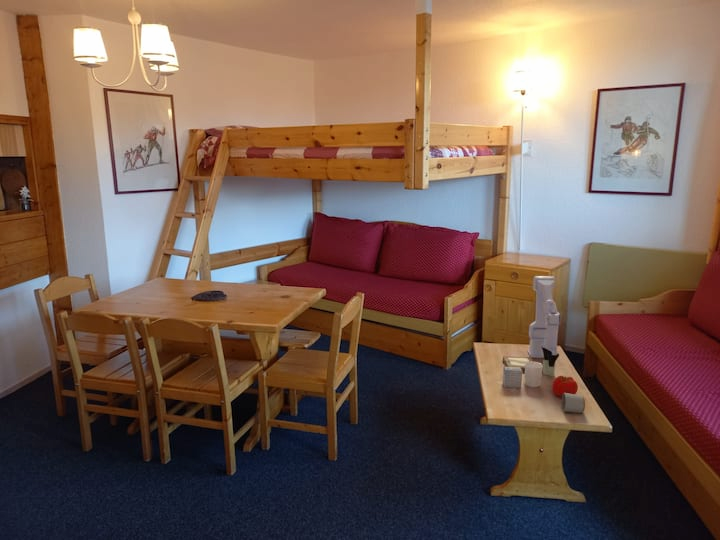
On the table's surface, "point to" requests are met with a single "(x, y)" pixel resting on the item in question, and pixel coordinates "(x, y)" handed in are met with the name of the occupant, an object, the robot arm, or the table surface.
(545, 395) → the table surface
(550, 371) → the sage block
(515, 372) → the medicine box
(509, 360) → the plinth
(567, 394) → the grey cylinder
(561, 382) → the tomato
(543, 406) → the table surface
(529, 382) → the white cup
